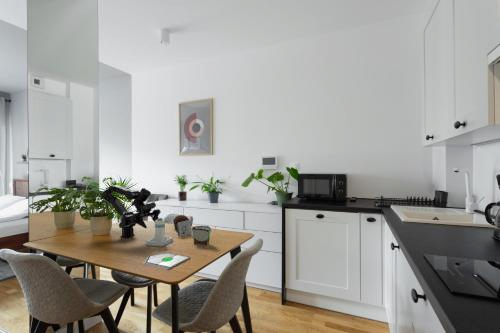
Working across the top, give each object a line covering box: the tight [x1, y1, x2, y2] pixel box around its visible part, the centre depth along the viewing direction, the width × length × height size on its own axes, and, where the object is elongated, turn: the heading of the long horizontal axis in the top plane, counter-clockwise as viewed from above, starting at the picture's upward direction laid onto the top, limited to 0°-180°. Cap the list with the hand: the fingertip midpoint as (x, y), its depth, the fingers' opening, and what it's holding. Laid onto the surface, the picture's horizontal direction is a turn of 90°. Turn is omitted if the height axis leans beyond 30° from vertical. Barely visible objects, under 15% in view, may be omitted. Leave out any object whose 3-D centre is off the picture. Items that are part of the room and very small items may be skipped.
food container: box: [191, 225, 212, 247], centre depth 148 cm, size 12×6×10 cm, turn 65°
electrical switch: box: [176, 220, 192, 238], centre depth 167 cm, size 9×5×9 cm, turn 141°
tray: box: [145, 236, 174, 247], centre depth 149 cm, size 11×11×2 cm
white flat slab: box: [142, 252, 191, 271], centre depth 122 cm, size 17×22×2 cm
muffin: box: [172, 214, 190, 231], centre depth 182 cm, size 12×11×10 cm
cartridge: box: [154, 217, 166, 242], centre depth 149 cm, size 6×6×14 cm
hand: (152, 226), depth 152 cm, fingers open, 9 cm apart
